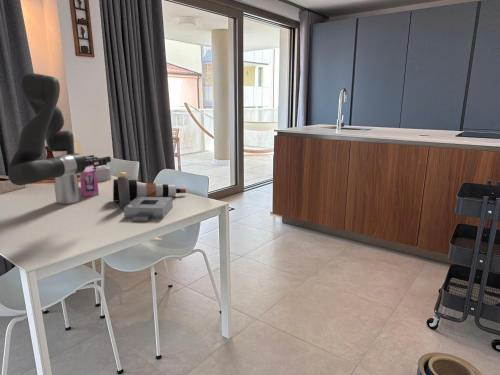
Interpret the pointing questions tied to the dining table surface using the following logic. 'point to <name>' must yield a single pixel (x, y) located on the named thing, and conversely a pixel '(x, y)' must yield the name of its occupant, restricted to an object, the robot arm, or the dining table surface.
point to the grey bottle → (123, 190)
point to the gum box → (89, 181)
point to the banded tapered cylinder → (147, 190)
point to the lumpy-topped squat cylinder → (103, 173)
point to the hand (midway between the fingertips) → (101, 158)
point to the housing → (148, 208)
